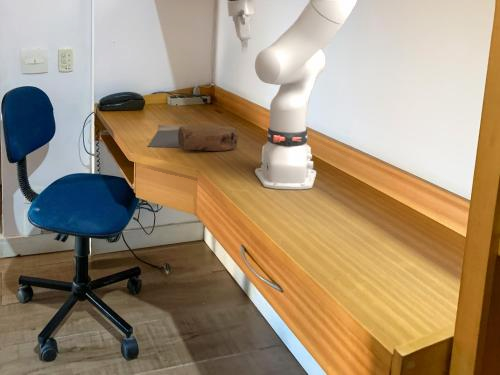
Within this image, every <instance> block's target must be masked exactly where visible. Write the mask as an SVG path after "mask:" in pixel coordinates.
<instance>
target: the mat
mask: <svg viewBox="0 0 500 375" xmlns="http://www.w3.org/2000/svg"><path fill="white" fill-rule="evenodd" d="M147 148H159V149H160V148H162V149H164V148H166V149H170V148H171V149H182V148H181V147H180V146H179V143H178V131H158V130H157V131H156V133H155V134H154V136H153V137H152V139H151V140H150V142H149V143H148V145H147Z"/></svg>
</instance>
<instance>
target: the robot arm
mask: <svg viewBox="0 0 500 375" xmlns="http://www.w3.org/2000/svg"><path fill="white" fill-rule="evenodd" d="M226 1H227V12H228V17H232V22H233V23H234V28H235V32H236V38H238V39H239V40H240V44H241V45H240V46H241V52H243V54H245V53H248V52H249V50H248V44H249V42H248V40H251V38H252V36H251V25H250V20H252V15H255V14H256V10H255V9H256V8H255V0H226ZM357 1H358V0H309V1H308V3H307V4H306V6H305V7H304V8H303V10H302V12H301V13H300V15H299V16H298V18H297V19H296V20H295V21H294V22H293V23H292V25H291V26H290V27H289V28H288V29H287V30H286V31H284V32H283V33H282V34H281V35H280V36H279V37H278V38H277V39H276V40H275V41H274V42H273V43H272V44H270V45H269V46H267V47H266V48H265V49H262V50H261V51H259V53H258V54H257V55H256V58H255V59H254V60H255V61H254V70H255V73H256V76H257V77H258V79H259V80H260V81H261V82H263V83H265V84H268V85H269V84H271V85H276V86H279V85H280V86H279V89H278V91H277V93H276V94H275V96H274V97H273V98H272V100H271V102H270V105H269V106H270V107H269V108H270V109H269V127H268V128H267V132H266V134H267V142H266V143H265V144H264V145H262V151H261V161H260V162H261V163H260V164H261V165H260V167H257V168H255V169H254V173H255V175H256V176H257V178H258V179H259V181H260V183H261V184H262V185H263V187H264V188H265V187H266V188H269V189H277V190H308V189H312V188H313V186H314V182H315V179H316V176H317V171H316V170H315V169H314V161H313V160H312V159H313V153H311V152H312V151H311V149H312V148H311V147H310V145H308V144H307V143H308V129H307V123H308V122H307V119H308V110H309V108H308V107H309V103H310V98H311V95H312V92H313V89H314V86H315V83H316V82H317V79H318V78H319V76H320V75H321V74H322V72H323V71H324V69H325V66H326V58H325V54H324V52H323V51H322V50H323V49H324V48H326V47H327V46H328V45H329V44H330V43H331V42H332V40H333V39H334V37H335V36H336V34H337V33H338V32H339V30H340V29H341V27H342V26H343V25H344V24H345V22H346V20H347V19H348V17H349V16H350V15H351V13H352V11H353V9H354V7H355V5H356V4H357Z"/></svg>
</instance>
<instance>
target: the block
mask: <svg viewBox="0 0 500 375" xmlns="http://www.w3.org/2000/svg"><path fill="white" fill-rule="evenodd" d="M186 125H187V126H180V128H179V131H178V143H179V146H180V147H181V148H180V149H184V150H189V151H190V150H192V151H195V150H196V151H197V150H198V151H205V152H206V151H209V152H225V151H232V150H234V149H236V148H237V146H238V142H239V134H238V131H237V130H236V129H235V128H234V127H233V126H224V125H223V126H222V125H205V124H204V125H203V124H202V125H200V124H198V125H197V124H195V125H193V124H192V125H191V124H186Z"/></svg>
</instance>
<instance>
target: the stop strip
mask: <svg viewBox="0 0 500 375" xmlns="http://www.w3.org/2000/svg"><path fill="white" fill-rule="evenodd" d="M187 125H188V124H158V125H157V131H179V128H180V126H187Z"/></svg>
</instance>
